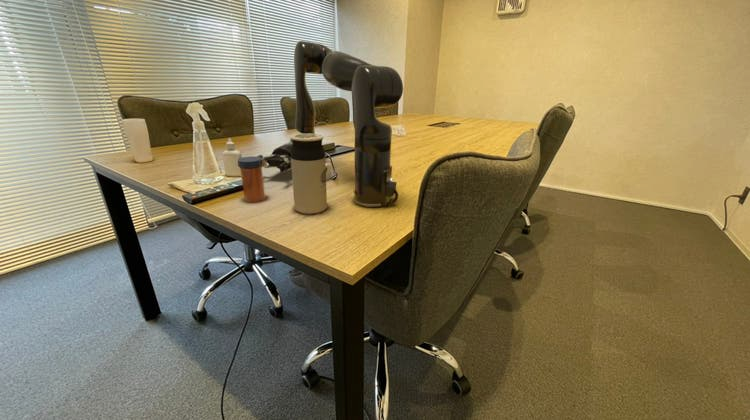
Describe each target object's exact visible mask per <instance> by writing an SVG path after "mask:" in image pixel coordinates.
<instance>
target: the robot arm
mask: <svg viewBox="0 0 750 420" xmlns="http://www.w3.org/2000/svg"><path fill="white" fill-rule="evenodd" d="M293 69H294V70H293V71H294V87H295V89H294V90H295V118H294V119H295V120H294V121H295V122H294V128H295V130H296V131H297V132H298V133H299V134H316V131H315V125H316V114H317V112H316V106H315V104H314V101H313V98H312V96H311V93H310V91H309V90H308V87H307V83H306V82H307V81H306V74H313V75H314V74H315V75H322V76H323V78H324V79H325V81H326V82H327V83H328V84H330V85H332V86H333V87H335V88H336V89H339V90H342V91H345V92H346V91H347V92H350V93H351V103H352V104H351V105H352V106H351V107H352V124H353V129H354V190H353V195H354V197H353V202H354V203H355V204H357V205H358V206H362V207H365V208H366V207H367V208H379V207H383V208H384V207H386V206H387V205H388V204H389V202H390V201H391V204H392V205H395V203H396V202H397V201H398V198H399V193H398V191H397V181H393V178H392V175H393V173H392V172H393V166H392V165H391V153H392V137H393V128H392V125H390V124H388V123H386V122H383V121H381V120H379V119H378V118H377V116H376V110H375V109H387V108H390V107H394V106H395V105H397V104H398V103H399V102H400V100H401V98H402V96H403V94H404V84H403V80H402V78H401V75H400V74H399V72H398V71H397V70H396V69H395V68H393V67H391V66H385V65H384V66H383V65H376V64H375V65H374V64H371V63H368V62H367V61H364V60H363V59H360V58H357V57H356V56H353V55H352V54H351V55H350V54H349V53H346V52H342V51H338V50H332V49H330V48H329V47H328V46H326V45H324V44H322V43H316V42H311V41H304V40H300V41H298V42H296V44H295V47H294V51H293ZM292 145H293V143H292V140H291V138H290V139H289V142H288V143H284V144H282V145H280V146H278V147H276V148H274V149H273V151H272V153H271V154H270V155H265V156H264V155H263V154H259V155H257V156H256V157H260V158H262V168H264V169H269V168H274V169H275V168H276V169H279V173H285V172H286V171H290V170H292V168H291V155H290V150H291V148H292ZM393 197H394V198H393ZM391 198H393V200H391Z"/></svg>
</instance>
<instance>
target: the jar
mask: <svg viewBox="0 0 750 420" xmlns="http://www.w3.org/2000/svg"><path fill="white" fill-rule="evenodd" d="M240 172H241V176H240V177H241V186H242V192H243V198H244V201H245V202H247V203H258V202H262V201H264V200H266V192H265V184H264V175H263V167H262V166H260V167H256V168H240Z"/></svg>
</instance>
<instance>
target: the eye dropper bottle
mask: <svg viewBox="0 0 750 420" xmlns="http://www.w3.org/2000/svg"><path fill="white" fill-rule="evenodd" d="M225 145H226V150H224V151H223V152H222V155H221V156H222V161H223V166H224V167H223V168H224V172H225V173H224V174H225V176H227V177H232V178H233V177H236V178H237V177H241V172H240V167H239V166H238V159H239V158H242V157H243V156H242V155H243V154H242V152H241V151H240V150H237V149H236V144H235V142H233V141H232V138H231V137H229V138H228V139H227V142H226V143H225Z"/></svg>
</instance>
